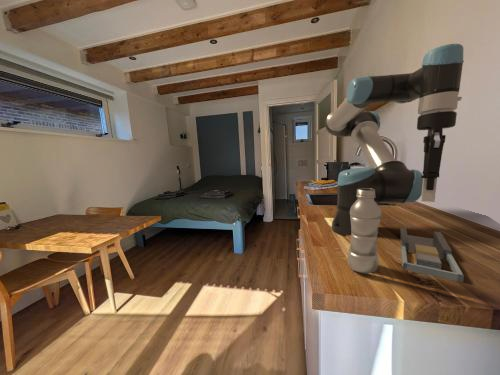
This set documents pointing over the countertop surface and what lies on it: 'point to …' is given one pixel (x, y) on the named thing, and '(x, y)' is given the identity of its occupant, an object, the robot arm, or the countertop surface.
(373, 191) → the plastic bottle
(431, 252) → the brass block
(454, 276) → the grey u-shaped frame
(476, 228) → the countertop surface
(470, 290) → the countertop surface
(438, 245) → the channel
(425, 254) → the steel block
